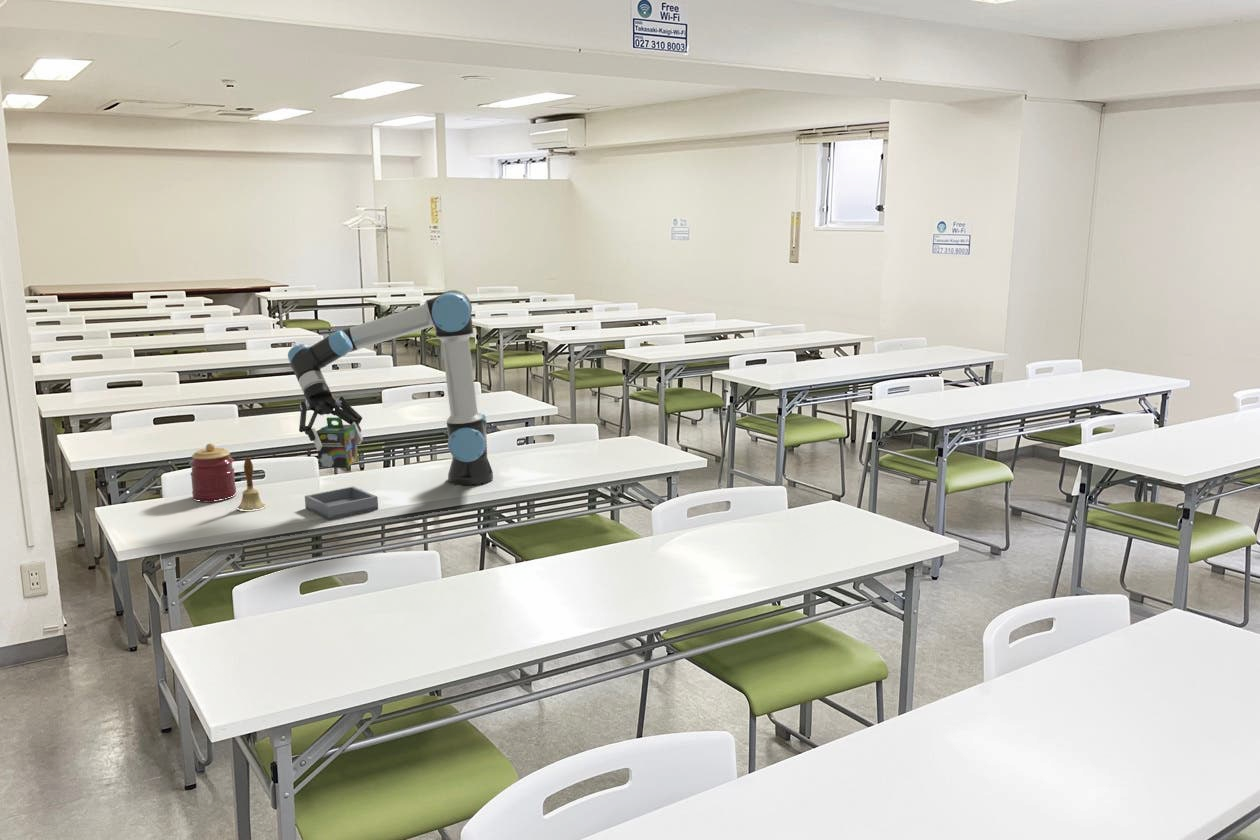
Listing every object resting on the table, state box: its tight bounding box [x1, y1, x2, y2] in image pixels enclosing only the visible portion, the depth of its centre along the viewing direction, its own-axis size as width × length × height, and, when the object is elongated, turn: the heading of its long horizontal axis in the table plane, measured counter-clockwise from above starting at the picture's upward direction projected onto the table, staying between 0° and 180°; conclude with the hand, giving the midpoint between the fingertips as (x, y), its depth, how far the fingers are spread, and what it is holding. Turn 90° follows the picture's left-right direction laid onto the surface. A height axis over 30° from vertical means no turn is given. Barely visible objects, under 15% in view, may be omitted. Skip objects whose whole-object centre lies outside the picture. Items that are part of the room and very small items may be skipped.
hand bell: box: [237, 457, 266, 510], centre depth 297 cm, size 8×8×16 cm
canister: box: [188, 443, 237, 501], centre depth 309 cm, size 13×13×18 cm
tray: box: [304, 486, 379, 521], centre depth 297 cm, size 16×16×4 cm
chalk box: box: [316, 416, 359, 469], centre depth 293 cm, size 9×9×15 cm
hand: (340, 445), depth 291 cm, fingers closed on chalk box, 12 cm apart
